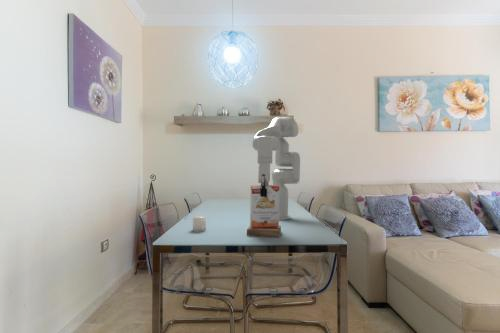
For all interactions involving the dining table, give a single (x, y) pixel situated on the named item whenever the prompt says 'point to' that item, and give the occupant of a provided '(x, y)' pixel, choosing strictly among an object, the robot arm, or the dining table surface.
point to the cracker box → (264, 207)
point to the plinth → (264, 231)
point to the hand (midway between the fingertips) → (264, 195)
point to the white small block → (199, 223)
